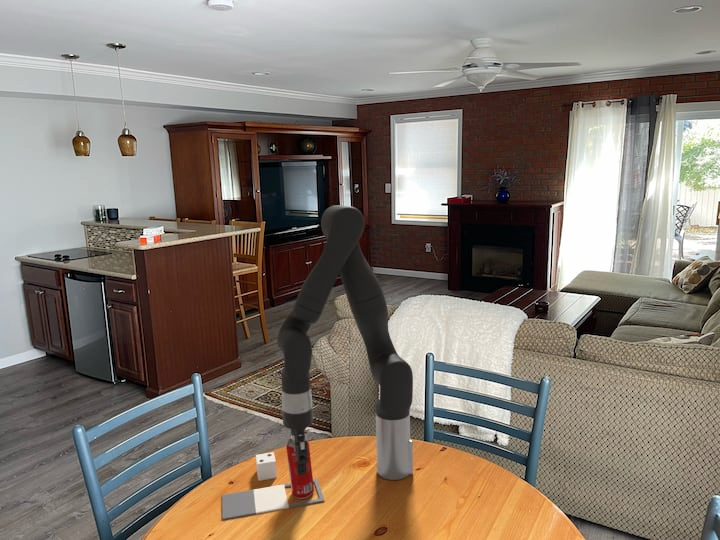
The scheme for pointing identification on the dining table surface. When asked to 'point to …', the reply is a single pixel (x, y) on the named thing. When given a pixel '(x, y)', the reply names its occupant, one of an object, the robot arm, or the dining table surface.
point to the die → (266, 466)
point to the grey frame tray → (261, 501)
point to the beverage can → (299, 483)
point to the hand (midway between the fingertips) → (300, 467)
